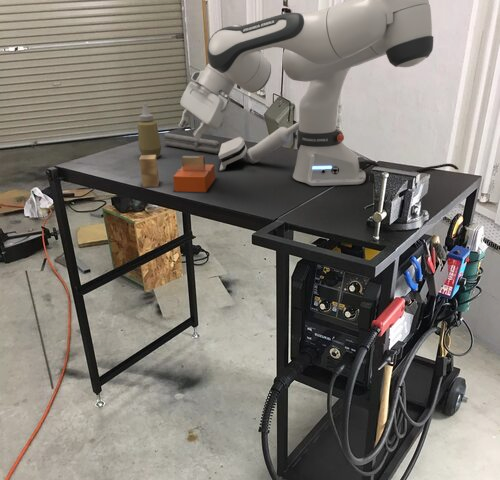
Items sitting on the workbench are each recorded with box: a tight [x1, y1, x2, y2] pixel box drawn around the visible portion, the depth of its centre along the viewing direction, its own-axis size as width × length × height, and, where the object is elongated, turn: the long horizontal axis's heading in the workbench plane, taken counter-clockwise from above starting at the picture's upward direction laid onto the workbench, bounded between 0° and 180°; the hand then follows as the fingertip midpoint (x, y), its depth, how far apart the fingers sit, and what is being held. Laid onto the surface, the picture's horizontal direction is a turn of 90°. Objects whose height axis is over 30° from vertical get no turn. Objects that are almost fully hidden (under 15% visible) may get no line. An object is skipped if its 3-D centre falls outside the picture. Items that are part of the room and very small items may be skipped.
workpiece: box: [138, 154, 160, 188], centre depth 164 cm, size 5×5×8 cm
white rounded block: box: [218, 136, 248, 172], centre depth 180 cm, size 17×5×10 cm
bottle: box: [245, 120, 299, 164], centre depth 173 cm, size 5×5×25 cm
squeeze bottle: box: [137, 103, 162, 159], centre depth 188 cm, size 8×8×18 cm
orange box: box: [172, 164, 216, 193], centre depth 163 cm, size 13×11×5 cm
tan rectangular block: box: [181, 154, 206, 171], centre depth 161 cm, size 6×2×4 cm, turn 80°
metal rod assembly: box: [163, 132, 220, 155], centre depth 199 cm, size 26×3×5 cm, turn 54°
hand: (188, 132), depth 150 cm, fingers open, 8 cm apart
